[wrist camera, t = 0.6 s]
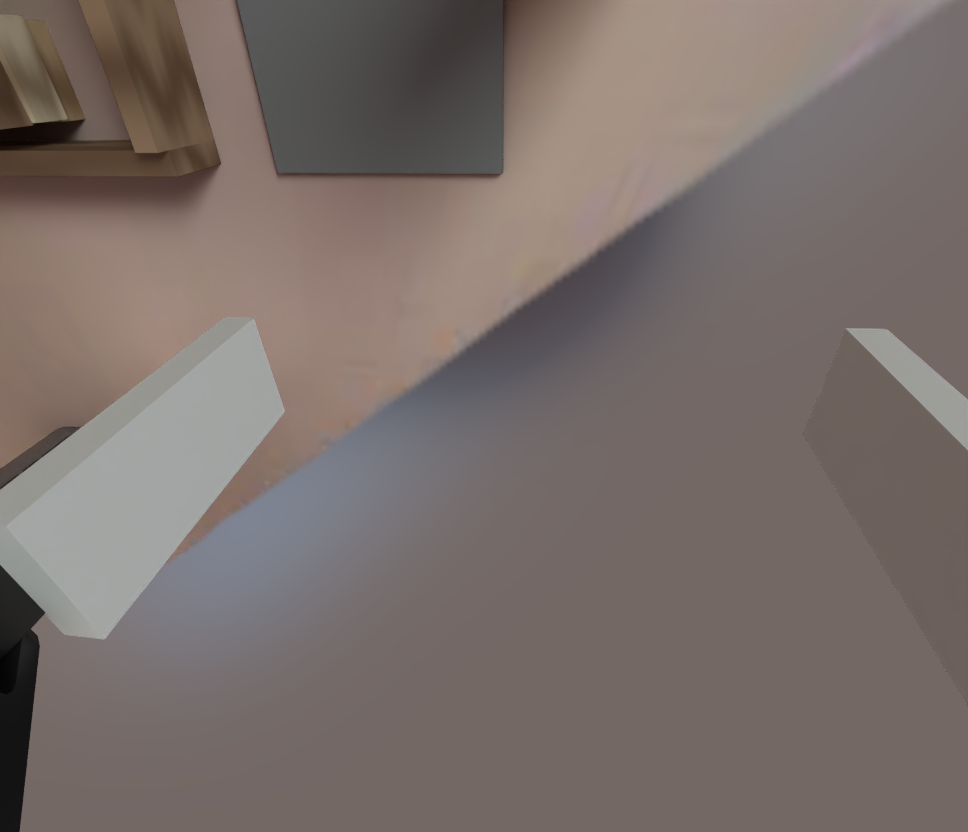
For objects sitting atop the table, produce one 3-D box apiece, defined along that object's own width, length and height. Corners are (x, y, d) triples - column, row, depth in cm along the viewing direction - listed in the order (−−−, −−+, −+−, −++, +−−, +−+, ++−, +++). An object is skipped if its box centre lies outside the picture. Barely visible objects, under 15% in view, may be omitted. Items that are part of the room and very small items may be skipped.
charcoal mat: (205, -159, 27) (198, -163, 26) (504, -184, 25) (502, -189, 24) (281, 171, 36) (277, 172, 35) (503, 172, 34) (502, 173, 34)
